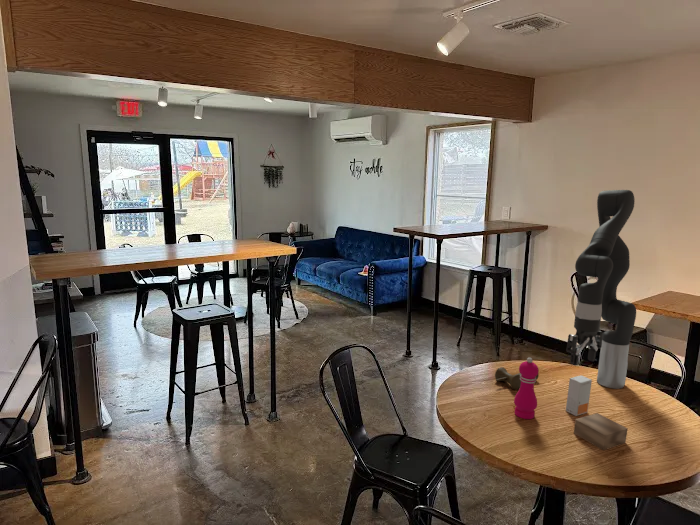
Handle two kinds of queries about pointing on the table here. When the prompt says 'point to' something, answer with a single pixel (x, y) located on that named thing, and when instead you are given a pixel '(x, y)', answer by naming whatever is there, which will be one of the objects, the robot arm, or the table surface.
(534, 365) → the pepper mill
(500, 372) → the kendama
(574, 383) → the skincare box
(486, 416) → the table surface
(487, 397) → the table surface
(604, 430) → the walnut block
